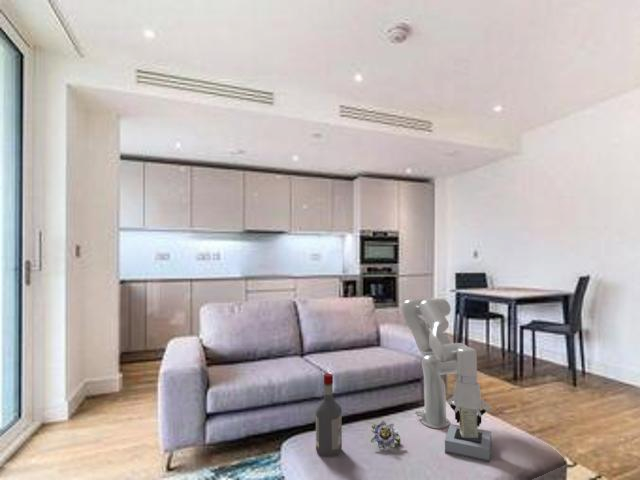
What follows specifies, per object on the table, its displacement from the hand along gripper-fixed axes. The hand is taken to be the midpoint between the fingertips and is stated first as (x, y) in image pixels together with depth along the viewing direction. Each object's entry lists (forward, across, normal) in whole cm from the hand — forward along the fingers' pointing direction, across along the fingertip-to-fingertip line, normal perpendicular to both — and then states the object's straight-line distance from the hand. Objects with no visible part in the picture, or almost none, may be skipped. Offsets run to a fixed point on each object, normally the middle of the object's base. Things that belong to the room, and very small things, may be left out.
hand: (468, 423), depth 155 cm
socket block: (+10, 0, 0) cm, 10 cm away
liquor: (+10, -50, -26) cm, 57 cm away
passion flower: (+10, -31, -12) cm, 35 cm away
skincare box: (+5, 0, 0) cm, 5 cm away
